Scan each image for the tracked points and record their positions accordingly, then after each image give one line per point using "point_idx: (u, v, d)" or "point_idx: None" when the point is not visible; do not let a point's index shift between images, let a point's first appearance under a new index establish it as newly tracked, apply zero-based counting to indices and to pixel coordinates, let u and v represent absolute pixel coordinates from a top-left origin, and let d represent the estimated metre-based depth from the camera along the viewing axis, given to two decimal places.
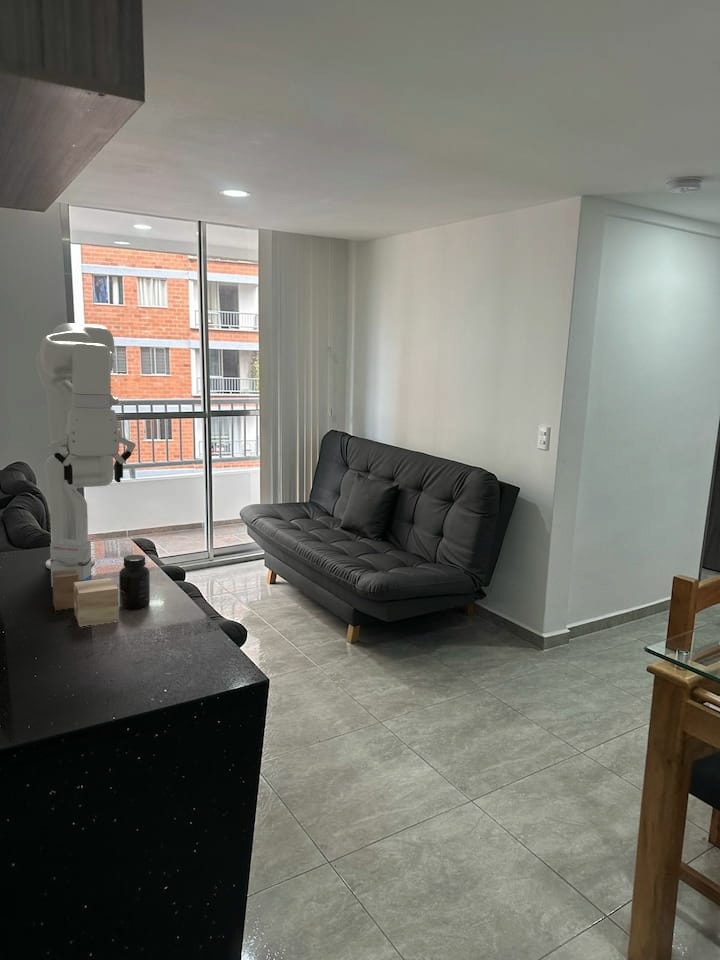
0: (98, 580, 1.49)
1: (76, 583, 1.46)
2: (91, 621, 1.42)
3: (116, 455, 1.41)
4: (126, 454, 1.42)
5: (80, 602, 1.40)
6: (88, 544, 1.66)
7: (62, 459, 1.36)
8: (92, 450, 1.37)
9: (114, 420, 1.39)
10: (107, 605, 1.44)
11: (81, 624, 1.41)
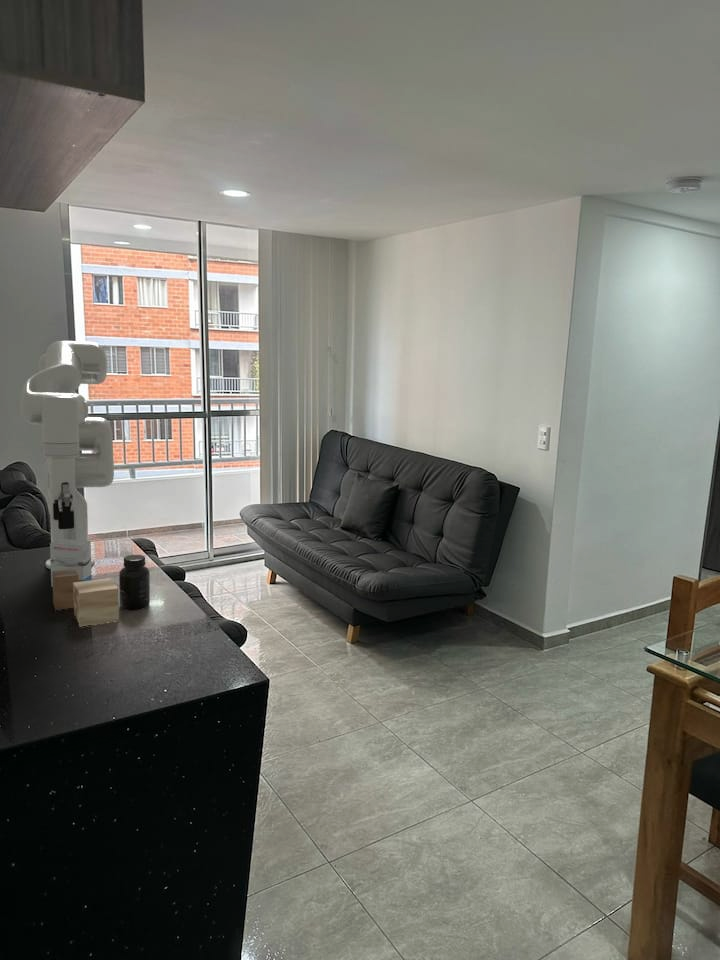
0: (97, 580, 1.49)
1: (76, 583, 1.46)
2: (91, 621, 1.42)
3: None
4: None
5: (80, 602, 1.40)
6: (88, 544, 1.66)
7: None
8: None
9: None
10: (107, 605, 1.44)
11: (81, 624, 1.41)
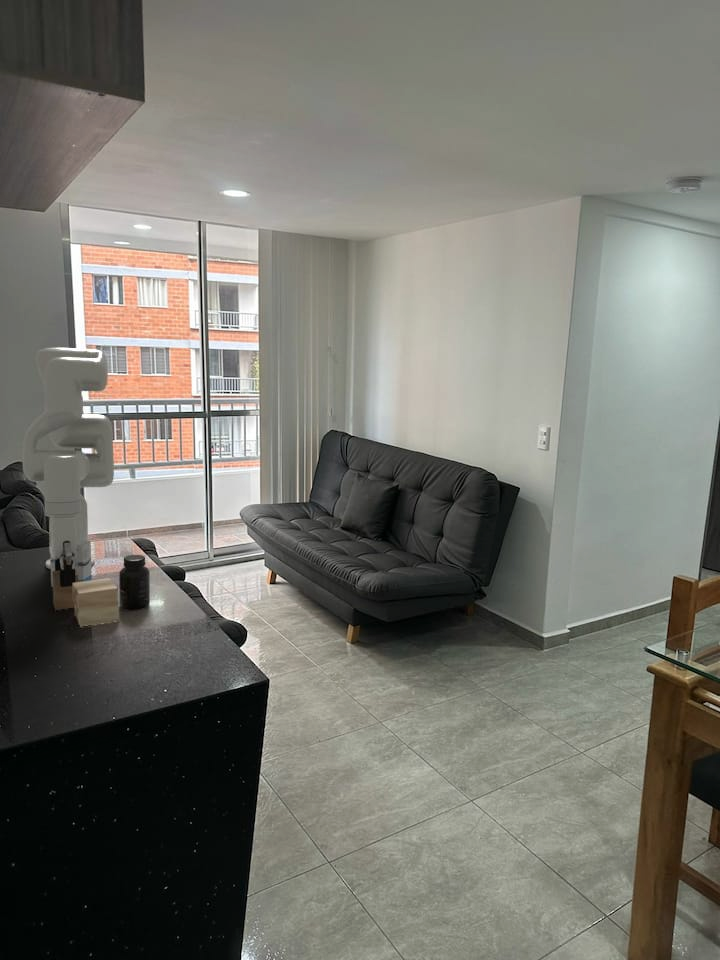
0: (96, 580, 1.49)
1: (75, 584, 1.46)
2: (91, 621, 1.42)
3: None
4: None
5: (80, 602, 1.40)
6: (88, 544, 1.66)
7: None
8: None
9: None
10: (107, 605, 1.44)
11: (82, 624, 1.41)
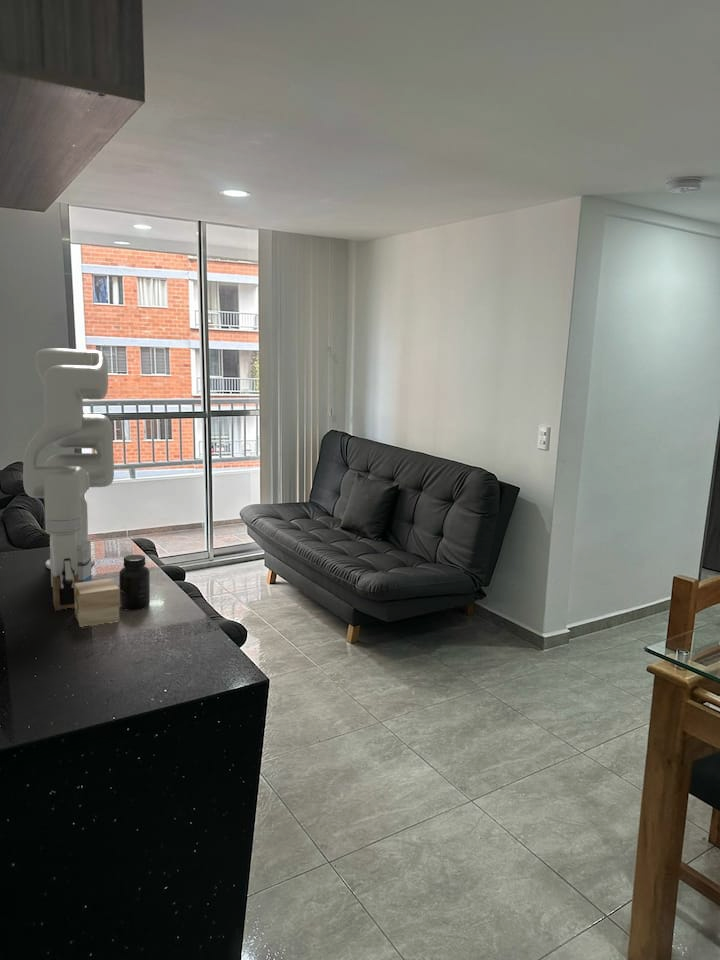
0: (98, 581, 1.49)
1: (77, 584, 1.46)
2: (91, 621, 1.42)
3: None
4: None
5: (81, 602, 1.40)
6: (88, 544, 1.66)
7: (71, 585, 1.49)
8: None
9: None
10: (108, 605, 1.43)
11: (82, 624, 1.41)
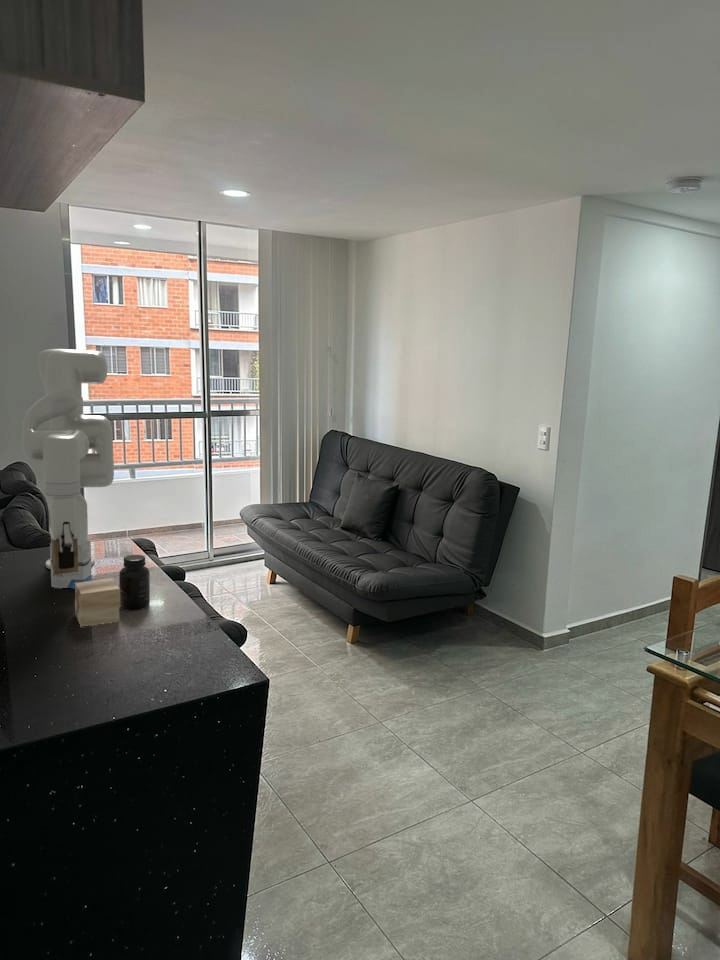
0: (99, 580, 1.48)
1: (77, 584, 1.46)
2: (91, 621, 1.42)
3: None
4: None
5: (82, 603, 1.40)
6: (88, 544, 1.66)
7: (70, 548, 1.48)
8: None
9: None
10: (109, 605, 1.43)
11: (82, 624, 1.41)
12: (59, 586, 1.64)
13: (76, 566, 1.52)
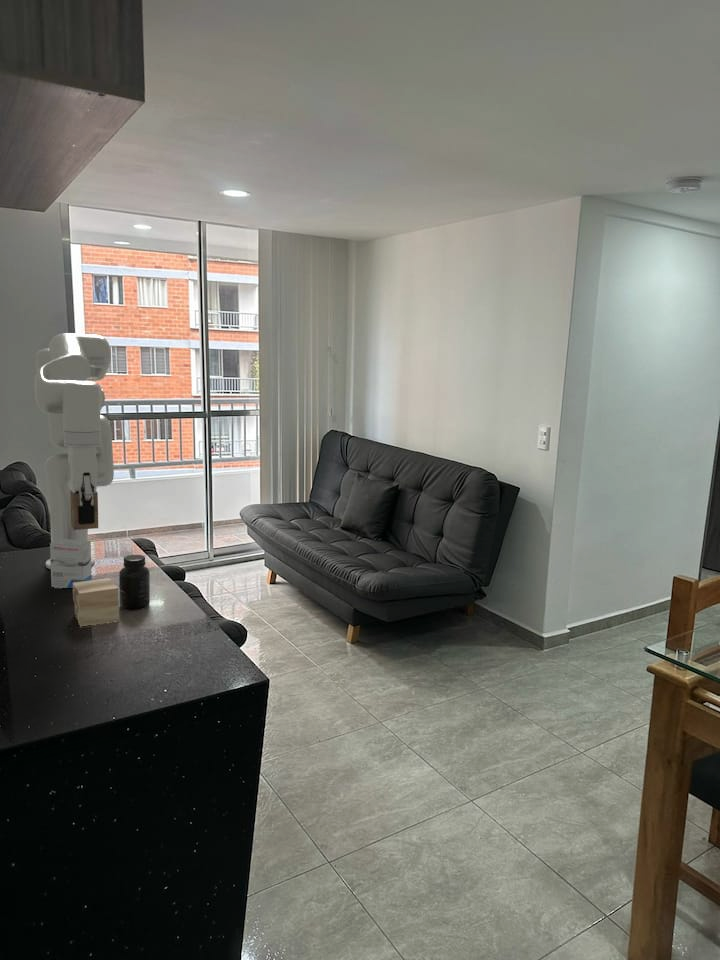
0: (97, 580, 1.48)
1: (75, 583, 1.46)
2: (91, 620, 1.42)
3: None
4: None
5: (80, 602, 1.40)
6: (88, 544, 1.66)
7: (91, 502, 1.41)
8: None
9: None
10: (107, 605, 1.44)
11: (81, 624, 1.41)
12: (59, 586, 1.64)
13: (96, 522, 1.44)
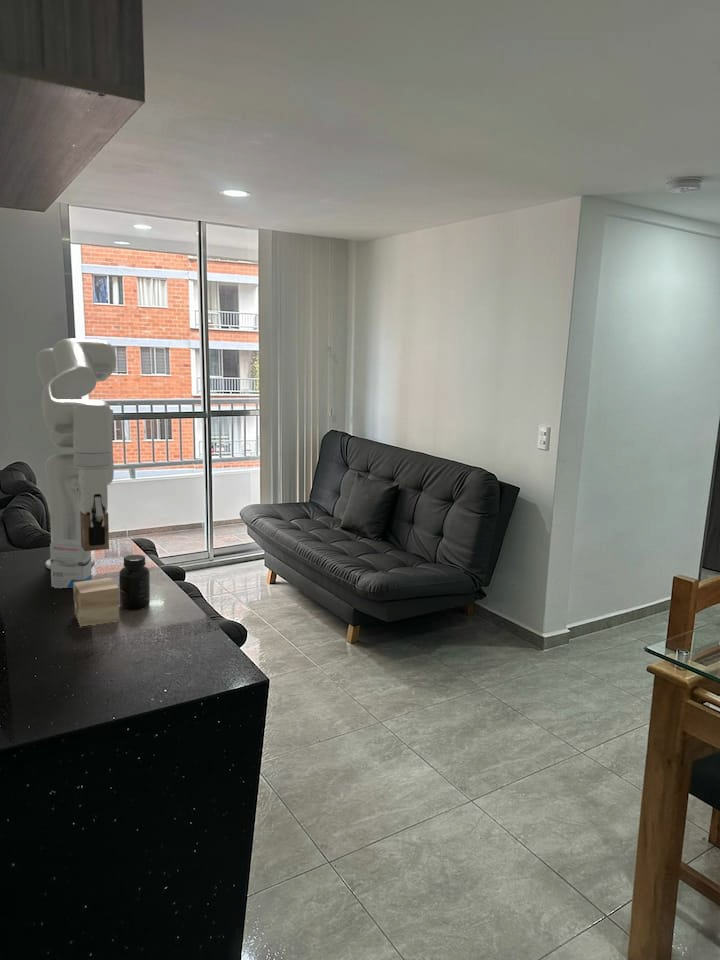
0: (98, 580, 1.49)
1: (76, 583, 1.46)
2: (91, 621, 1.42)
3: None
4: None
5: (82, 602, 1.41)
6: None
7: (101, 523, 1.40)
8: None
9: None
10: (108, 604, 1.44)
11: (81, 624, 1.41)
12: (59, 586, 1.64)
13: (107, 543, 1.43)
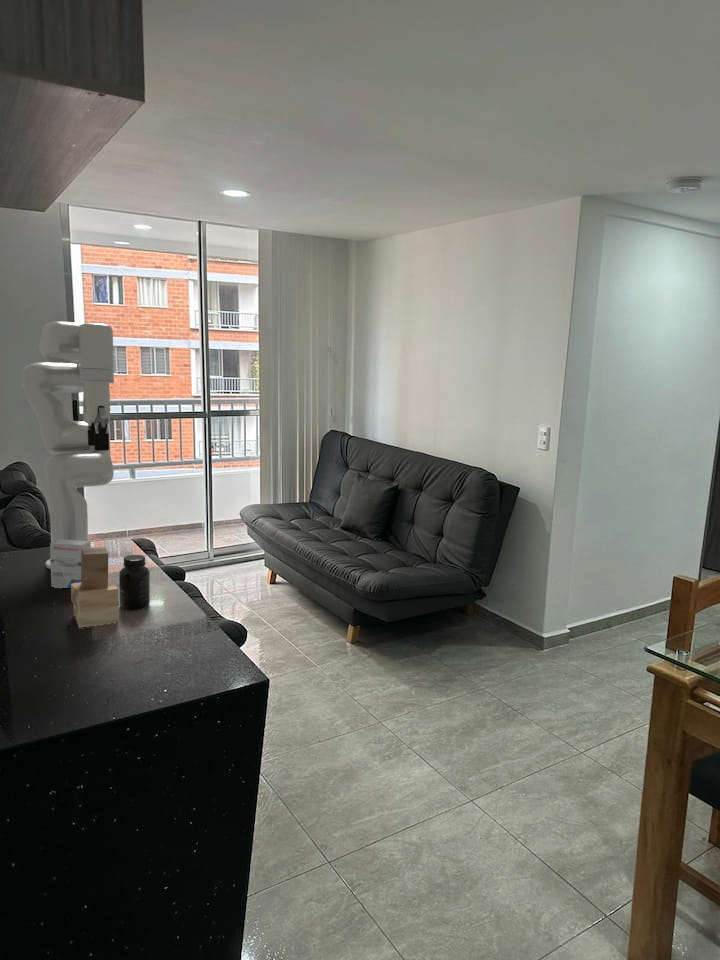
0: None
1: (74, 584, 1.45)
2: (90, 621, 1.42)
3: None
4: None
5: (81, 603, 1.40)
6: (88, 544, 1.66)
7: None
8: (107, 418, 1.57)
9: None
10: (108, 605, 1.43)
11: (80, 625, 1.41)
12: (59, 586, 1.64)
13: (106, 582, 1.44)
